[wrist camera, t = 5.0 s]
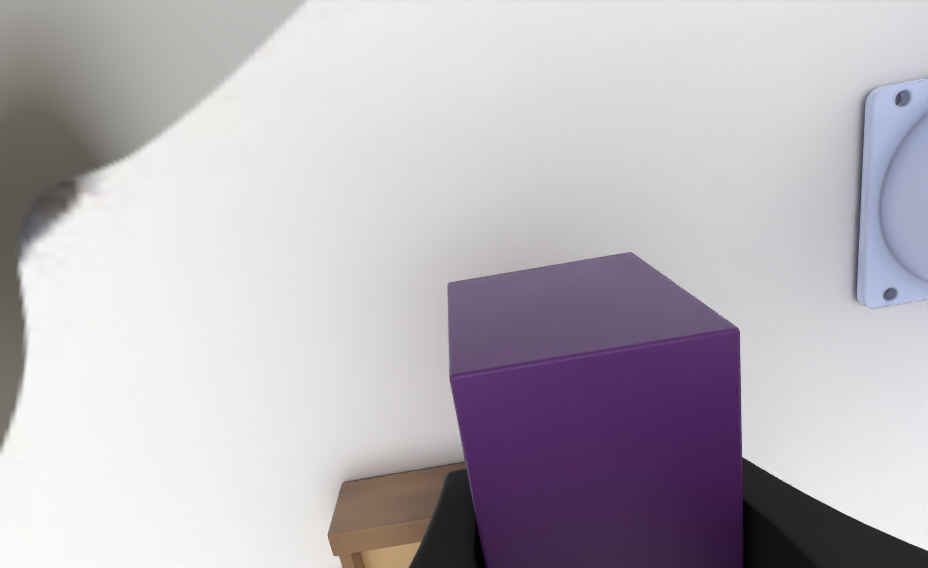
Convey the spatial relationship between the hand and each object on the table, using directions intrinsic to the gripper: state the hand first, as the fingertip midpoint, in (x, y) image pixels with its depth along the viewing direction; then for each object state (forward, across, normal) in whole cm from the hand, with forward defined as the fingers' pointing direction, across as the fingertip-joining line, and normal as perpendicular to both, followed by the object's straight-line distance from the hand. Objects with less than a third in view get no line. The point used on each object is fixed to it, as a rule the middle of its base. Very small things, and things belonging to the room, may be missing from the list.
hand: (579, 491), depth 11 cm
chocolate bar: (+2, 0, 0) cm, 2 cm away
